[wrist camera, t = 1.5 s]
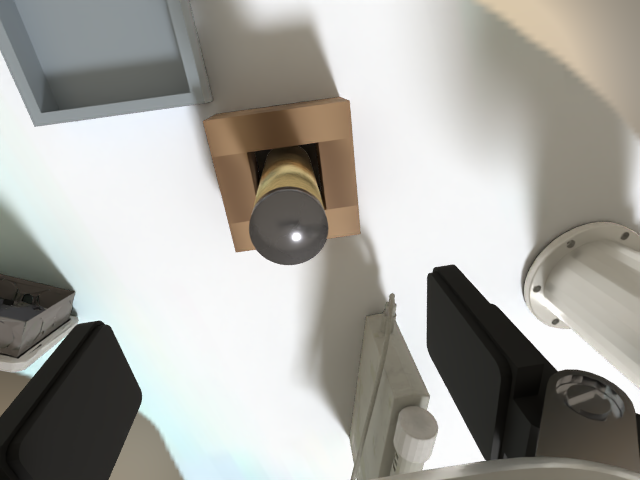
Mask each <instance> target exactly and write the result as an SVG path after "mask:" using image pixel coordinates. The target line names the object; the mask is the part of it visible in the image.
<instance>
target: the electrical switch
mask: <svg viewBox="0 0 640 480" xmlns="http://www.w3.org/2000/svg"><path fill="white" fill-rule="evenodd" d="M3 279H4V280H3ZM14 283H15V284H14ZM17 288H18V290H19V291H18V292H17ZM16 292H17V296H16V298H15V295H16ZM24 294H31V296H32V297H33V300H32V304H29V303H26V302H23V301H21V300H22V298H23V296H24ZM39 294H40V295H39ZM38 295H39V302H38V301H37V297H38ZM74 296H75V292H74V291H70V290H66V289H62V288H57V287H53V286H49V285H45V284H41V283H36V282H32V281H28V280H24V279H20V278H15V277H11V276H7V275H3V274H0V370H2V371H7V372H17V371H22V370H25V369H26V368H27V367H29V366H30V365H31V364H32V363H34V362H35V361H36V360H37V359H38V358H40V357H41V356H42V355H43V354H45V353H46V352H47V351H48V350H49V349H51V348H52V347H53V346H54V345H56V344H57V343H58V342H59V341H60V340H62V339H63V338H64V337H65V336H66V335H68V334H69V333H70V332H71V330H72V329H73V328H74V327H75V326H76V325H77V324H78V321H79V320H78V317H76V316H71V311H72V303H73V299H74ZM14 298H15V299H14ZM36 304H37V305H36ZM39 305H40V306H39Z"/></svg>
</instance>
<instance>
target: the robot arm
mask: <svg viewBox="0 0 640 480" xmlns="http://www.w3.org/2000/svg"><path fill="white" fill-rule="evenodd" d="M524 298H525V301H526V305H527V307H528V308H529V310H530V312H531V313H532V314H533V315H534V316H535V317H536V318H537V319H538V320H540V321H541V322H543V323H544V324H546V325H548V326H550V327H554V328H560V329H572V330H573V331H574V332H575V333H576V334H578V335H579V336H580V337H581V338H582V339H583V340H584V341H585V342H587V343H588V344H589V345H590V346H591V347H592V348H593V349H594V350H596V351H597V352H598V353H599V354H600V355H601V356H602V357H604V358H605V359H606V360H607V361H608V362H609V363H610V364H611V365H613V366H614V367H615V368H616V369H617V370H618V371H619V372H620V373H622V374H623V375H624V376H625V377H626V378H627V379H628V380H629V381H631V382H632V383H633V384H634V385H635V386H636V387H637V388H638V389H640V236H639V235H638V234H637V233H636V232H634V231H633V230H631V229H629V228H627V227H625V226H623V225H620V224H616V223H612V222H595V223H588V224H585V225H582V226H579V227H576V228H574V229H572V230H570V231H568V232H566V233H564V234H562V235H561V236H559V237H558V238H556V239H555V240H554V241H552V242H551V243H550V244H549V245H548V246H547V247H546V248H545V249H544V250H543V251H542V252H541V253H540V254H539V256H538V257H537V258H536V259H535V261H534V263H533V264H532V266H531V267H530V269H529V272H528V274H527V277H526V281H525V286H524ZM427 348H428V352H429V355H430V357H431V359H432V361H433V362H434V364H435V366H436V368H437V370H438V372H439V374H440V376H441V378H442V379H443V381H444V383H445V385H446V387H447V389H448V391H449V393H450V395H451V397H452V398H453V400H454V402H455V404H456V406H457V408H458V410H459V412H460V414H461V416H462V417H463V419H464V421H465V423H466V425H467V427H468V429H469V431H470V433H471V434H472V436H473V438H474V440H475V442H476V444H477V446H478V448H479V450H480V452H481V453H482V455H483V457H484V459H485V460H486V461H481V462H475V463H468V464H462V465H456V466H449V467H443V468H436V469H430V470H423V471H417V472H411V473H405V474H399V475H394V476H388V477H382V478H376V479H371V480H640V414H637V413H635V409H634V406H633V403H632V401H631V400H630V399H629V397H628V396H627V395H626V393H625V392H623V391H622V390H621V389H620V388H619V387H617V386H616V385H615V384H614V383H612V382H610V381H608V380H607V379H605V378H603V377H601V376H598V375H595V374H593V373H590V372H586V371H581V370H562V371H557V370H556V369H555V368H554V367H553V366H552V365H551V364H550V363H549V362H548V360H547V359H546V358H545V357H544V356H543V355H542V354H541V353H540V352H539V351H538V350H537V349H536V348H535V347H534V345H533V344H532V343H531V342H530V341H529V340H528V339H527V338H526V337H525V336H524V335H523V334H522V333H521V331H520V330H519V329H518V328H517V327H516V326H515V325H514V324H513V323H512V322H511V321H510V320H509V319H508V317H507V316H506V315H505V314H504V313H503V312H502V311H501V310H500V309H499V308H498V307H497V306H496V305H494V304H490V303H489V302H488V301H487V300H486V299H485V297H484V296H483V295H482V294H481V293H480V292H479V291H478V290H477V289H476V288H475V286H474V285H473V284H472V283H471V282H470V281H469V280H468V279H467V278H466V277H465V275H464V274H463V273H462V272H461V271H460V270H459V269H458V268H457V267H456V266H455V265H447V266H441V267H435V268H434V269H433V273H429V274H428V276H427ZM141 401H142V392H141V389H140V387H139V385H138V383H137V381H136V379H135V377H134V375H133V373H132V370H131V368H130V366H129V364H128V362H127V360H126V358H125V356H124V354H123V352H122V349H121V347H120V345H119V343H118V341H117V339H116V337H115V335H114V333H113V331H112V329H111V327H110V326H109V325H105V324H104V323H103V322H102V321H94V322H88V323H82V324H78V325H76V326H75V327H74V328H73V329H72V330H71V332H70V333H69V334H68V335H67V336H66V338H65V339H64V340H63V341H62V342H61V344H60V345H59V346H58V347H57V349H56V350H55V351H54V352H53V353H52V355H51V356H50V357H49V358H48V360H47V361H46V362H45V363H44V364H43V366H42V367H41V368H40V369H39V370H38V372H37V373H36V374H35V375H34V377H33V378H32V379H31V380H30V381H29V383H28V384H27V385H26V386H25V388H24V389H23V390H22V391H21V392H20V394H19V395H18V396H17V397H16V399H15V400H14V401H13V402H12V403H11V405H10V406H9V407H8V408H7V409H6V411H5V412H4V413H3V414H2V416H1V417H0V480H108V479H109V477H110V475H111V472H112V470H113V468H114V466H115V463H116V461H117V459H118V456H119V454H120V452H121V449H122V447H123V445H124V442H125V440H126V437H127V435H128V433H129V430H130V428H131V426H132V423H133V421H134V419H135V416H136V414H137V412H138V409H139V407H140V405H141Z"/></svg>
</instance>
